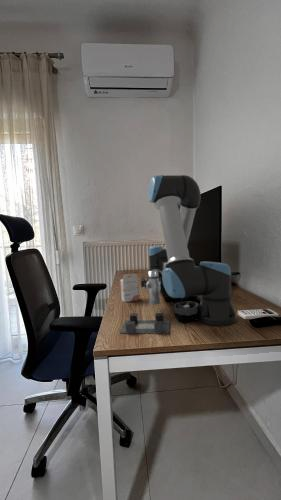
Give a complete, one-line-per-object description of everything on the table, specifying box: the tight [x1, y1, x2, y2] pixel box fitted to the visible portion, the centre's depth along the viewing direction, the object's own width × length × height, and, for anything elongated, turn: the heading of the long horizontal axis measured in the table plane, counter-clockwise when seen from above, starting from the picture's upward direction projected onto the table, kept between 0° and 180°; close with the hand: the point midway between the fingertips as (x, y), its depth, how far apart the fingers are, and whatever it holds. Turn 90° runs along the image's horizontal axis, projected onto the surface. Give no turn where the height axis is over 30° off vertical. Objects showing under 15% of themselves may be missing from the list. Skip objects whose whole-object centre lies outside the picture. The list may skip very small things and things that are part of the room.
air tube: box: [147, 270, 161, 305], centre depth 105 cm, size 4×4×14 cm
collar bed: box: [119, 312, 171, 335], centre depth 93 cm, size 18×12×3 cm, turn 84°
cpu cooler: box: [173, 301, 200, 324], centre depth 100 cm, size 10×6×10 cm
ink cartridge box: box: [120, 272, 140, 303], centre depth 132 cm, size 9×5×15 cm, turn 112°
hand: (153, 287), depth 100 cm, fingers closed on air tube, 4 cm apart
